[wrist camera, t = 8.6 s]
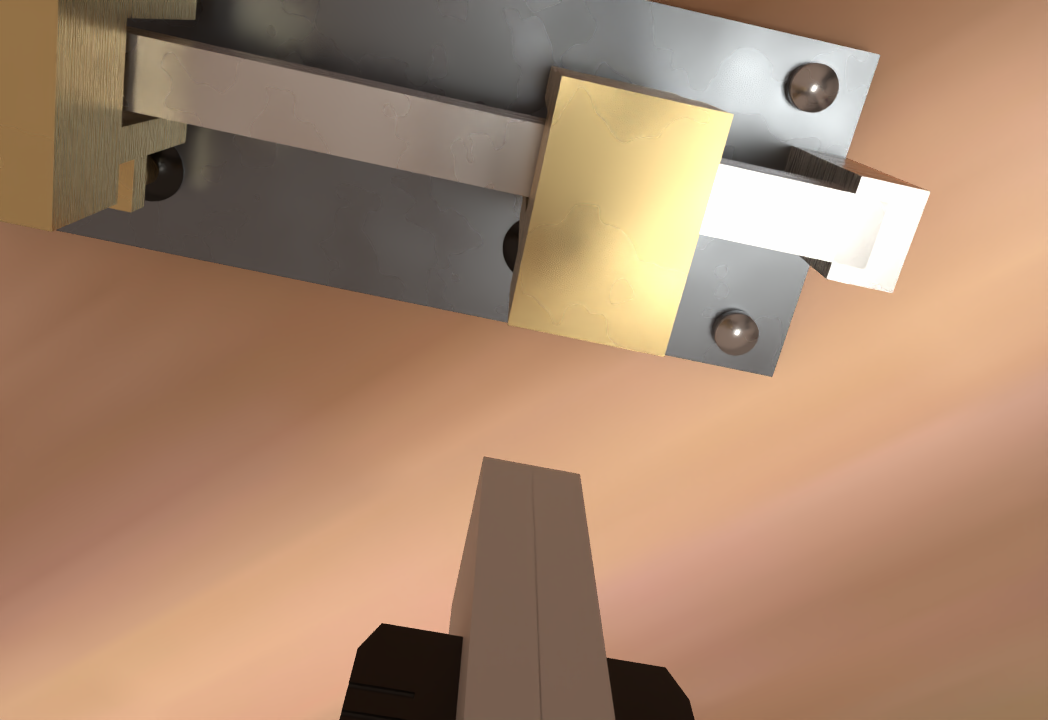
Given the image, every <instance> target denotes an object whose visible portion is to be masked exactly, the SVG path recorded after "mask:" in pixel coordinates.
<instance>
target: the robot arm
mask: <svg viewBox="0 0 1048 720" xmlns="http://www.w3.org/2000/svg"><path fill="white" fill-rule="evenodd" d="M339 720H694V716H693V712H692V708H691V704H690V700H689V699H688V697H687V696H686V695H685V693H684V692H683V691H682V689H681V688H680V687H679V685H678V684H677V682H676V681H675V680H674V678H673V677H672V676H671V674H670V673H669V672H668V670H667V669H666V668H665V667H659V666H653V665H647V664H641V663H635V662H629V661H623V660H617V659H611V658H606V651H605V644H604V638H603V631H602V624H601V617H600V610H599V603H598V596H597V589H596V582H595V575H594V568H593V561H592V554H591V548H590V541H589V534H588V527H587V520H586V513H585V506H584V499H583V492H582V485H581V478H580V474H576V473H571V472H565V471H560V470H554V469H549V468H543V467H538V466H532V465H527V464H521V463H516V462H510V461H505V460H500V459H494V458H489V457H484V458H483V462H482V467H481V472H480V476H479V481H478V486H477V490H476V495H475V500H474V504H473V509H472V514H471V518H470V523H469V528H468V532H467V537H466V542H465V546H464V551H463V556H462V560H461V565H460V570H459V574H458V579H457V584H456V588H455V593H454V598H453V603H452V609H451V618H450V627H449V634H444V633H438V632H432V631H426V630H420V629H414V628H408V627H402V626H396V625H390V624H384V623H382V624H381V625H380V626H379V627H378V628H377V629H376V630H375V631H374V632H373V633H372V634H371V635H370V636H369V637H368V638H367V639H366V640H365V641H364V642H363V643H362V645H361V646H360V647H359V648H358V649H357V653H356V657H355V661H354V665H353V669H352V673H351V676H350V680H349V685H348V688H347V692H346V696H345V700H344V704H343V708H342V712H341V716H340V719H339Z"/></svg>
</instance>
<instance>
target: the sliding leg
mask: <svg viewBox="0 0 1048 720" xmlns="http://www.w3.org/2000/svg"><path fill="white" fill-rule="evenodd" d="M545 102H546V106H547V110H548V113H547V118H546V122H545V127H544V132H543V136H542V141H541V145H540V150H539V155H538V159H537V164H536V169H535V173H534V178H533V183H532V187H531V192H530V196H529V197H526V196H523V201H522V206H521V210H520V220H519V243H518V252H517V257H516V261H515V266H514V271H513V275H512V280H511V284H510V297H509V311H508V325H511V326H515V327H520V328H525V329H530V330H535V331H540V332H545V333H550V334H555V335H559V336H564V337H569V338H574V339H579V340H584V341H589V342H594V343H599V344H603V345H608V346H613V347H618V348H623V349H628V350H633V351H638V352H643V353H647V354H652V355H657V356H662V357H664V356H665V352H666V349H667V345H668V342H669V338H670V335H671V331H672V328H673V324H674V321H675V317H676V314H677V310H678V307H679V303H680V300H681V296H682V293H683V289H684V286H685V282H686V279H687V276H688V272H689V269H690V265H691V262H692V258H693V255H694V251H695V248H696V244H697V241H698V237H699V234H700V230H701V227H702V223H703V220H704V216H705V213H706V209H707V206H708V202H709V199H710V195H711V192H712V188H713V185H714V182H715V178H716V175H717V171H718V168H719V164H720V161H721V157H722V154H723V150H724V147H725V143H726V140H727V136H728V133H729V129H730V126H731V122H732V119H733V115H734V114H731V113H729V112H726V111H724V110H722V109H719V108H717V107H714V106H712V105H710V104H707V103H705V102H701V101H696V100H692V99H687V98H683V97H681V96H679V95H677V94H674V93H670V92H666V91H661V90H657V89H653V88H648V87H644V86H639V85H635V84H630V83H626V82H622V81H617V80H613V79H608V78H604V77H599V76H595V75H591V74H586V73H582V72H577V71H573V70H568V69H564V68H560V67H555V66H551V70H550V75H549V79H548V84H547V89H546V93H545Z"/></svg>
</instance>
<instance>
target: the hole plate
mask: <svg viewBox="0 0 1048 720" xmlns="http://www.w3.org/2000/svg"><path fill="white" fill-rule="evenodd" d="M127 26H129V27H134V28H138V29H143V30H147V31H152V32H156V33H161V34H165V35H170V36H174V37H179V38H183V39H188V40H192V41H197V42H201V43H206V44H210V45H215V46H219V47H224V48H229V49H233V50H238V51H242V52H247V53H251V54H256V55H260V56H265V57H269V58H274V59H278V60H283V61H287V62H292V63H296V64H301V65H305V66H310V67H314V68H319V69H323V70H328V71H332V72H337V73H341V74H346V75H350V76H355V77H359V78H364V79H368V80H373V81H377V82H382V83H386V84H391V85H395V86H400V87H404V88H409V89H413V90H418V91H423V92H427V93H432V94H436V95H441V96H445V97H450V98H454V99H459V100H463V101H468V102H472V103H477V104H481V105H486V106H490V107H495V108H499V109H504V110H508V111H513V112H517V113H522V114H526V115H531V116H535V117H540V118H544V119H546V118H547V113H548V110H547V106H546V102H545V93H546V89H547V84H548V79H549V75H550V70H551V66H555V67H560V68H564V69H568V70H573V71H577V72H582V73H586V74H591V75H595V76H599V77H604V78H608V79H613V80H617V81H622V82H626V83H630V84H635V85H639V86H644V87H648V88H653V89H657V90H661V91H666V92H670V93H674V94H677V95H679V96H681V97H683V98H687V99H692V100H696V101H701V102H705V103H707V104H710V105H712V106H714V107H717V108H719V109H722V110H724V111H726V112H729V113H731V114H734V115H733V119H732V122H731V126H730V129H729V133H728V136H727V140H726V143H725V147H724V150H723V154H722V157H721V158H725V159H729V160H734V161H738V162H743V163H747V164H752V165H756V166H761V167H765V168H770V169H774V170H779V171H784V168H785V165H786V162H787V158H788V155H789V152H790V149H791V146H797V147H801V148H806V149H810V150H815V151H819V152H823V153H828V154H832V155H837V156H841V157H846V156H847V153H848V150H849V147H850V144H851V141H852V138H853V135H854V132H855V129H856V126H857V123H858V120H859V117H860V114H861V111H862V108H863V105H864V102H865V99H866V96H867V93H868V90H869V87H870V84H871V81H872V78H873V75H874V72H875V69H876V66H877V63H878V60H879V57H880V55H879V54H874V53H870V52H866V51H862V50H857V49H853V48H849V47H844V46H840V45H836V44H832V43H827V42H823V41H819V40H814V39H810V38H806V37H801V36H797V35H793V34H789V33H784V32H780V31H776V30H771V29H767V28H763V27H759V26H754V25H750V24H746V23H741V22H737V21H733V20H729V19H724V18H720V17H716V16H711V15H707V14H703V13H698V12H694V11H690V10H686V9H681V8H677V7H673V6H668V5H664V4H660V3H656V2H651V1H647V0H197V5H196V18H195V20H180V19H144V18H127ZM147 156H149V157H151V158H152V159H153V160H154V161H155V162H156V164H157V166H158V169H159V174H158V177H157V179H156V180H155V181H154V182H152V183H150V184H147V185H145V197H144V207H142V208H140V209H138V210H136V211H133V212H127V211H122V210H117V209H112V208H106V209H104V210H102V211H99V212H97V213H94V214H92V215H90V216H87V217H85V218H83V219H80V220H78V221H76V222H73V223H71V224H69V225H66V226H64V227H62V228H59V229H57V231H62V232H67V233H72V234H77V235H82V236H87V237H92V238H97V239H101V240H106V241H111V242H116V243H121V244H126V245H131V246H136V247H140V248H145V249H150V250H155V251H160V252H165V253H170V254H175V255H180V256H184V257H189V258H194V259H199V260H204V261H209V262H214V263H219V264H224V265H228V266H233V267H238V268H243V269H248V270H253V271H258V272H263V273H268V274H272V275H277V276H282V277H287V278H292V279H297V280H302V281H307V282H311V283H316V284H321V285H326V286H331V287H336V288H341V289H346V290H351V291H355V292H360V293H365V294H370V295H375V296H380V297H385V298H390V299H395V300H399V301H404V302H409V303H414V304H419V305H424V306H429V307H434V308H439V309H443V310H448V311H453V312H458V313H463V314H468V315H473V316H478V317H483V318H487V319H492V320H497V321H502V322H507V323H508V311H509V297H510V284H511V280H512V275H513V271H514V266H515V261H516V257H517V252H518V243H519V220H520V210H521V206H522V201H523V196H521V195H517V194H512V193H507V192H503V191H498V190H493V189H489V188H484V187H479V186H475V185H470V184H465V183H461V182H456V181H451V180H447V179H442V178H437V177H433V176H428V175H424V174H419V173H414V172H410V171H405V170H400V169H396V168H391V167H386V166H382V165H377V164H372V163H368V162H363V161H358V160H354V159H349V158H344V157H340V156H335V155H331V154H326V153H321V152H317V151H312V150H307V149H303V148H298V147H293V146H289V145H284V144H279V143H275V142H270V141H265V140H261V139H256V138H252V137H247V136H242V135H238V134H233V133H228V132H224V131H219V130H214V129H210V128H205V127H200V126H196V125H191V124H187V132H186V142H185V143H182V144H179V145H176V146H173V147H170V148H167V149H164V150H161V151H158V152H155V153H152V154H149V155H147ZM809 266H810V265H809V264H808V263H807V262H806V261H805V260H803V259H802V258H801V257H800V256H799V255H796V254H791V253H786V252H782V251H777V250H772V249H768V248H763V247H758V246H754V245H749V244H744V243H740V242H735V241H730V240H726V239H721V238H716V237H712V236H707V235H703V234H699V237H698V241H697V244H696V248H695V251H694V255H693V258H692V262H691V265H690V269H689V272H688V276H687V279H686V282H685V286H684V289H683V293H682V296H681V300H680V303H679V307H678V310H677V314H676V317H675V321H674V324H673V328H672V331H671V335H670V338H669V342H668V345H667V349H666V352H665V355H668V356H673V357H678V358H683V359H688V360H693V361H697V362H702V363H707V364H712V365H717V366H722V367H727V368H732V369H737V370H741V371H746V372H751V373H756V374H761V375H766V376H771V377H772V376H773V373H774V370H775V367H776V364H777V361H778V358H779V355H780V352H781V349H782V346H783V343H784V340H785V337H786V334H787V331H788V328H789V325H790V322H791V320H792V317H793V314H794V311H795V308H796V305H797V302H798V299H799V296H800V293H801V290H802V287H803V284H804V281H805V278H806V275H807V272H808V269H809Z"/></svg>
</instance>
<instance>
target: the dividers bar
mask: <svg viewBox="0 0 1048 720" xmlns="http://www.w3.org/2000/svg"><path fill="white" fill-rule="evenodd" d="M196 5H197V0H0V221H2V222H7V223H12V224H17V225H22V226H26V227H31V228H36V229H41V230H46V231H51V232H52V231H54V230H57V229H59V228H62V227H64V226H66V225H69V224H71V223H73V222H76V221H78V220H80V219H83V218H85V217H87V216H90V215H92V214H94V213H97V212H99V211H102V210H104V209H106V208H112V209H117V210H122V211H127V212H133V211H136V210H138V209H140V208H142V207H144V197H145V185H147V184H150V183H152V182H154V181H155V180H156V179H157V177H158V174H159V169H158V166H157V164H156V162H155V161H154V160H153V159H152V158H151V157H149V156H147V155H149V154H152V153H155V152H158V151H161V150H164V149H167V148H170V147H173V146H176V145H179V144H182V143H185V142H186V132H187V124H191V125H196V126H200V127H205V128H210V129H214V130H219V131H224V132H228V133H233V134H238V135H242V136H247V137H252V138H256V139H261V140H265V141H270V142H275V143H279V144H284V145H289V146H293V147H298V148H303V149H307V150H312V151H317V152H321V153H326V154H331V155H335V156H340V157H344V158H349V159H354V160H358V161H363V162H368V163H372V164H377V165H382V166H386V167H391V168H396V169H400V170H405V171H410V172H414V173H419V174H424V175H428V176H433V177H437V178H442V179H447V180H451V181H456V182H461V183H465V184H470V185H475V186H479V187H484V188H489V189H493V190H498V191H503V192H507V193H512V194H517V195H521V196H526V197H529V196H530V192H531V187H532V183H533V178H534V173H535V169H536V164H537V159H538V155H539V150H540V145H541V141H542V136H543V132H544V127H545V122H546V119H544V118H540V117H535V116H531V115H526V114H522V113H517V112H513V111H508V110H504V109H499V108H495V107H490V106H486V105H481V104H477V103H472V102H468V101H463V100H459V99H454V98H450V97H445V96H441V95H436V94H432V93H427V92H423V91H418V90H413V89H409V88H404V87H400V86H395V85H391V84H386V83H382V82H377V81H373V80H368V79H364V78H359V77H355V76H350V75H346V74H341V73H337V72H332V71H328V70H323V69H319V68H314V67H310V66H305V65H301V64H296V63H292V62H287V61H283V60H278V59H274V58H269V57H265V56H260V55H256V54H251V53H247V52H242V51H238V50H233V49H229V48H224V47H219V46H215V45H210V44H206V43H201V42H197V41H192V40H188V39H183V38H179V37H174V36H170V35H165V34H161V33H156V32H152V31H147V30H143V29H138V28H134V27H129V26H127V18H144V19H180V20H195V18H196ZM929 194H930V191H928V190H925V189H923V188H920V187H918V186H915V185H913V184H910V183H908V182H905V181H903V180H900V179H898V178H895V177H893V176H890V175H888V174H886V173H883V172H881V171H878V170H876V169H873V168H871V167H868V166H866V165H863V164H861V163H858V162H856V161H853V160H851V159H848V158H846V157H841V156H837V155H832V154H828V153H823V152H819V151H815V150H810V149H806V148H801V147H797V146H791V149H790V152H789V155H788V158H787V162H786V165H785V168H784V171H779V170H774V169H770V168H765V167H761V166H756V165H752V164H747V163H743V162H738V161H734V160H729V159H725V158H721V161H720V164H719V168H718V171H717V175H716V178H715V182H714V185H713V188H712V192H711V195H710V199H709V202H708V206H707V209H706V213H705V216H704V220H703V223H702V227H701V230H700V234H703V235H707V236H712V237H716V238H721V239H726V240H730V241H735V242H740V243H744V244H749V245H754V246H758V247H763V248H768V249H772V250H777V251H782V252H786V253H791V254H796V255H799V256H800V257H801V258H802V259H803V260H805V261H806V262H807V263H808V264H809V265H811V266H812V267H813V268H814V269H815V270H817V271H818V272H819V273H820V274H821V275H823V276H824V277H825V278H826V279H829V280H834V281H839V282H843V283H848V284H853V285H857V286H862V287H867V288H871V289H876V290H881V291H885V292H890V293H893V290H894V287H895V285H896V282H897V279H898V277H899V274H900V271H901V269H902V266H903V263H904V261H905V258H906V255H907V253H908V250H909V247H910V245H911V242H912V239H913V237H914V234H915V231H916V229H917V226H918V223H919V220H920V218H921V215H922V212H923V210H924V207H925V204H926V202H927V199H928V196H929Z"/></svg>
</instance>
